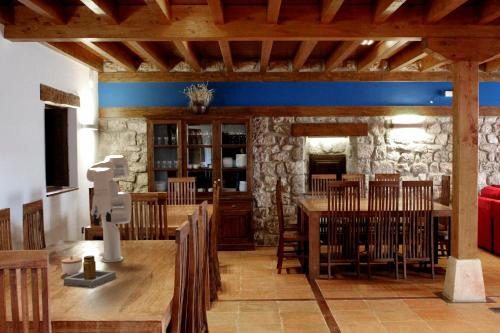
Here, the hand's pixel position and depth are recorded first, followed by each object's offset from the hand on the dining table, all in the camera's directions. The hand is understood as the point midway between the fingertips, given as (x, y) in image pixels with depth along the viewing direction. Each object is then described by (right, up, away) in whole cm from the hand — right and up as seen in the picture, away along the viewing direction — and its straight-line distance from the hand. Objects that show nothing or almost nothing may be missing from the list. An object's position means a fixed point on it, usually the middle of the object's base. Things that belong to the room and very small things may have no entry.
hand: (102, 223), depth 257 cm
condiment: (-2, -27, -13) cm, 30 cm away
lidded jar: (-17, -28, +2) cm, 33 cm away
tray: (-2, -28, -14) cm, 31 cm away
